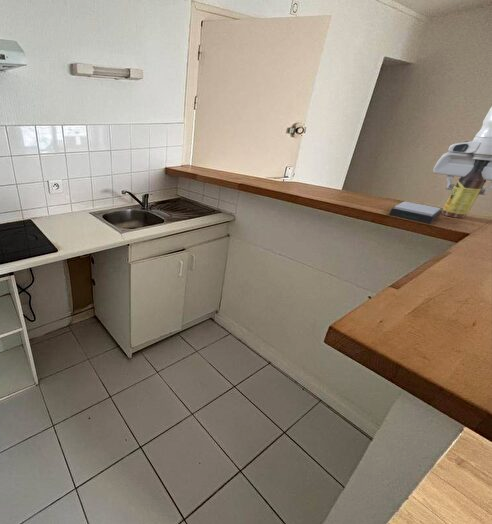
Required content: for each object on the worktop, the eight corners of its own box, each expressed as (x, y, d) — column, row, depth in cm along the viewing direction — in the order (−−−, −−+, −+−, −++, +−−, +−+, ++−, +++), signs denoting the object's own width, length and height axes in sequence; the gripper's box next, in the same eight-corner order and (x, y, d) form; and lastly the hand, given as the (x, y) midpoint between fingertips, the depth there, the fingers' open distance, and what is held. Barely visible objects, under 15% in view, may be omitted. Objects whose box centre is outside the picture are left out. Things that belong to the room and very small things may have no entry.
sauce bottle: (443, 211, 102) (474, 153, 92) (467, 216, 97) (502, 156, 88) (437, 215, 99) (468, 155, 89) (462, 220, 94) (497, 158, 85)
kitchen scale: (438, 217, 97) (443, 208, 96) (429, 224, 91) (434, 214, 90) (399, 209, 105) (403, 200, 103) (388, 215, 99) (392, 206, 98)
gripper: (543, 150, 82) (512, 197, 88) (448, 143, 96) (428, 184, 103) (542, 152, 78) (510, 201, 85) (443, 145, 93) (423, 187, 100)
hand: (464, 191), depth 94 cm, fingers open, 7 cm apart
